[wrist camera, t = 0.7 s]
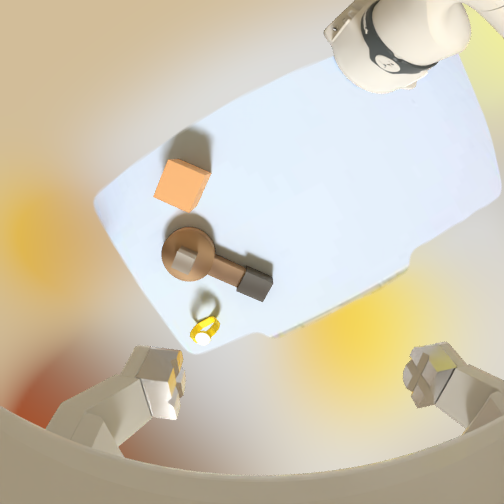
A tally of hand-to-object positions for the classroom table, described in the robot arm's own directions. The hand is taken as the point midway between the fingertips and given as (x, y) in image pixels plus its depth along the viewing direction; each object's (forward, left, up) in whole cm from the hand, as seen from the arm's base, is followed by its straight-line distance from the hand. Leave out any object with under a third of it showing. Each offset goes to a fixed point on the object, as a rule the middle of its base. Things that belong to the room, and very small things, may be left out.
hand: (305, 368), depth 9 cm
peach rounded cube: (+3, -13, -39) cm, 41 cm away
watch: (+26, 0, -39) cm, 47 cm away
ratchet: (+14, -2, -39) cm, 42 cm away
